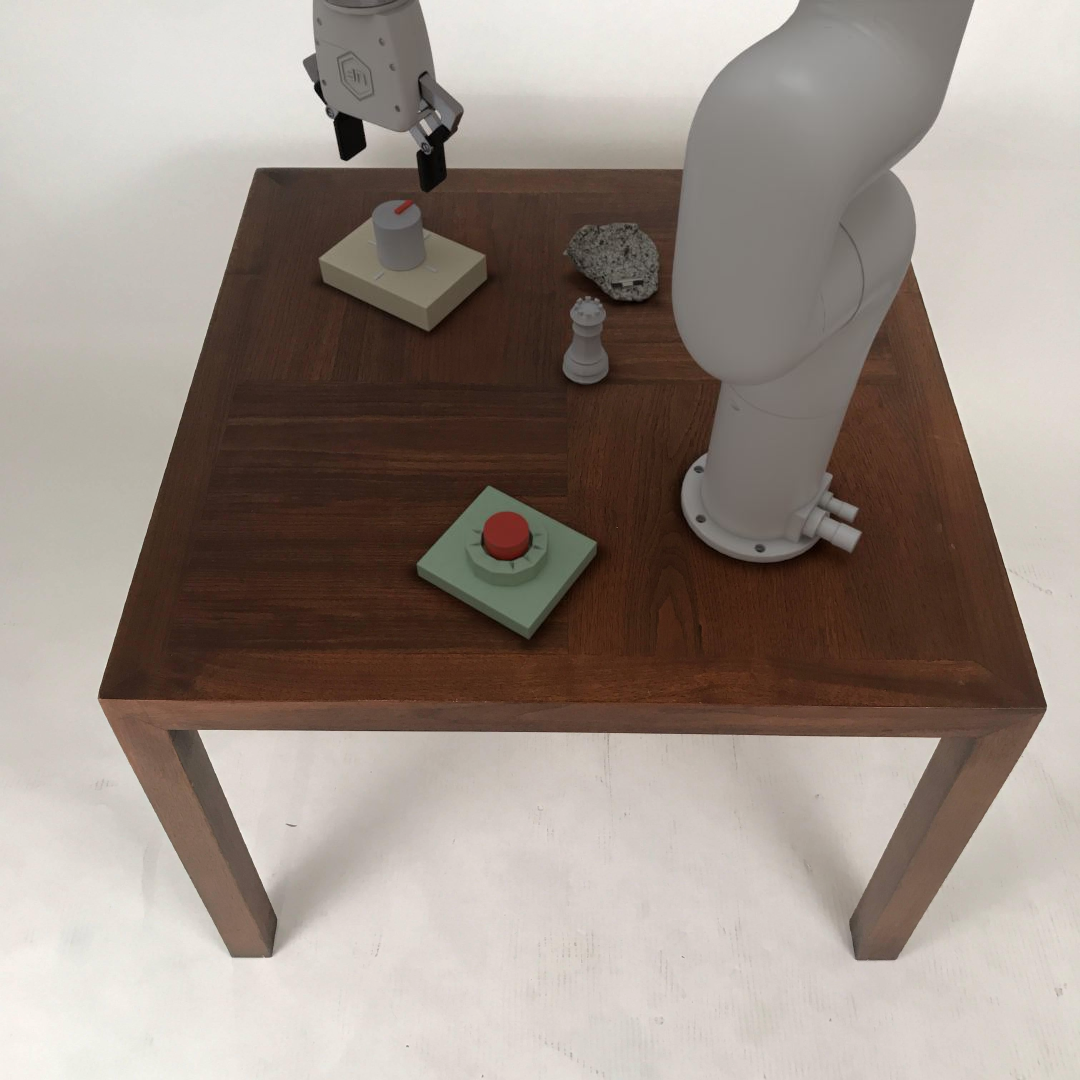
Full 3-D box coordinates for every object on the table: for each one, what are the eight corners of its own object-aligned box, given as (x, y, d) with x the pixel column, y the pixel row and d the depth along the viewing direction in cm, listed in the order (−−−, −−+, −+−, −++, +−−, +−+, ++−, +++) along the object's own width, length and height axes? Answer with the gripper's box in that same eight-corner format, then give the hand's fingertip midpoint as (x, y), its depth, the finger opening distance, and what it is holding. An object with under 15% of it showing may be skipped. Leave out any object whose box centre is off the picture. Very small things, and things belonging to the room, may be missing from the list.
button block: (596, 554, 82) (598, 528, 79) (528, 640, 77) (528, 616, 74) (489, 497, 86) (487, 471, 83) (418, 575, 81) (413, 550, 78)
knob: (405, 277, 99) (399, 232, 95) (369, 260, 100) (361, 215, 96) (435, 252, 101) (430, 207, 97) (398, 236, 103) (392, 191, 99)
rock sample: (614, 297, 95) (606, 205, 95) (564, 312, 101) (556, 226, 101) (688, 302, 102) (681, 216, 101) (637, 315, 108) (630, 234, 107)
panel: (487, 278, 103) (486, 253, 101) (429, 332, 98) (426, 307, 96) (384, 233, 108) (380, 208, 106) (323, 282, 103) (317, 257, 101)
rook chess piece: (604, 390, 93) (609, 324, 87) (558, 383, 94) (559, 318, 88) (611, 358, 96) (616, 292, 90) (566, 352, 97) (568, 286, 90)
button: (538, 537, 79) (537, 524, 78) (512, 567, 77) (511, 554, 76) (501, 517, 80) (500, 504, 79) (475, 547, 78) (474, 534, 77)
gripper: (252, -32, 80) (298, 161, 94) (419, 20, 74) (442, 218, 88) (314, -65, 84) (349, 125, 97) (478, -18, 78) (491, 177, 91)
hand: (393, 169), depth 92 cm, fingers open, 9 cm apart
